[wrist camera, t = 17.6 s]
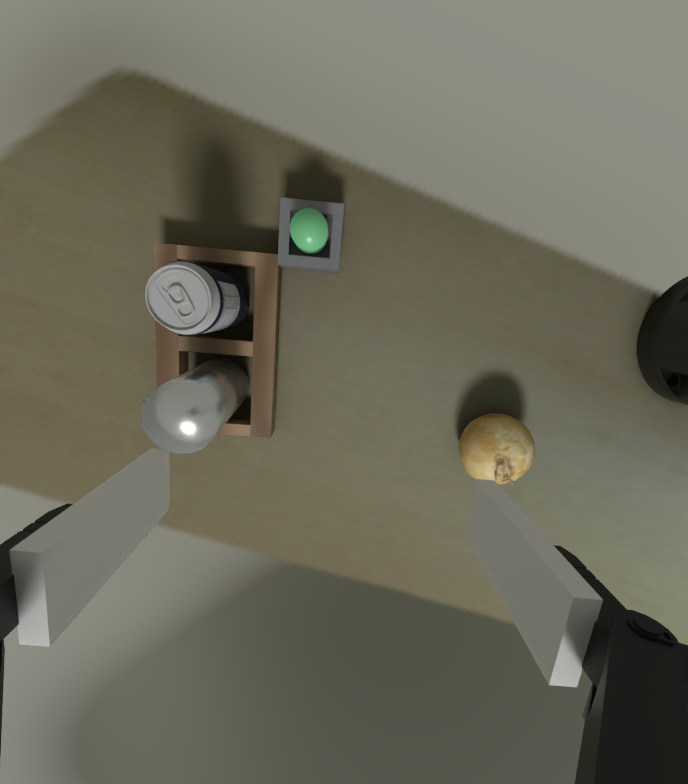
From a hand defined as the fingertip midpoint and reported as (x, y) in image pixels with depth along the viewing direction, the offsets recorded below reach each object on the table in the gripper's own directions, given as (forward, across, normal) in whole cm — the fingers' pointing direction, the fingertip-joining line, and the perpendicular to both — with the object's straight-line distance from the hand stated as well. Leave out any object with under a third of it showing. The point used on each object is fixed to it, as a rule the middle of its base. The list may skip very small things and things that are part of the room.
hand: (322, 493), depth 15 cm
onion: (+27, -19, +6) cm, 33 cm away
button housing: (+26, +4, -14) cm, 30 cm away
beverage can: (+26, +12, -7) cm, 30 cm away
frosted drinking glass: (+26, +12, +2) cm, 29 cm away
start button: (+24, +4, -14) cm, 28 cm away
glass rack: (+26, +12, -3) cm, 29 cm away
